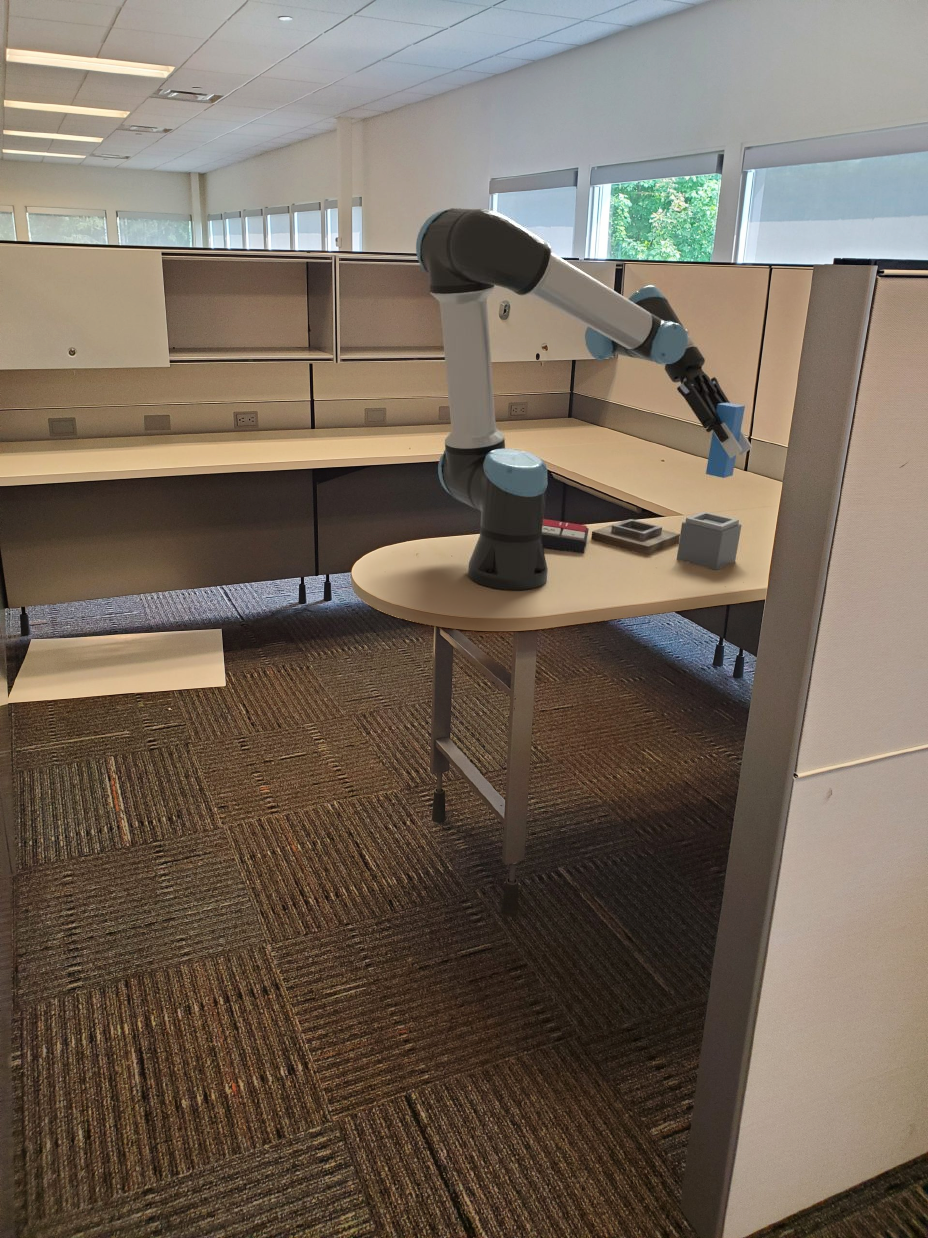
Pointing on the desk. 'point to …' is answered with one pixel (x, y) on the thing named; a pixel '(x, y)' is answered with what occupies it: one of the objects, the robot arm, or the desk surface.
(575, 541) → the black and red block
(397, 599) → the desk surface
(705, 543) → the upper socket block
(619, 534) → the lower socket plate
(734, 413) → the plug
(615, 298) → the robot arm
